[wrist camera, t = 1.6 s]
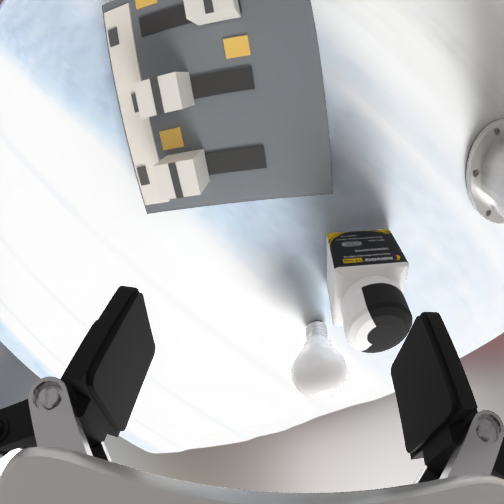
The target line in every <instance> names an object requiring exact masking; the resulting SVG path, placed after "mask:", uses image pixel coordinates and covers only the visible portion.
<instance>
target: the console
mask: <svg viewBox="0 0 504 504" xmlns="http://www.w3.org/2000/svg"><path fill="white" fill-rule="evenodd" d="M238 4H239V9H240V15H241V17H240V18H234V19H228V20H223V21H218V22H213V23H208V24H204V25H199V26H198V25H197V24H195V23H193V22H191V21H190V20H188V19H186V14H185V8H184V2H183V0H114V1H112V2H110V3H107V4H105V5H103V6H102V10H103V18H104V25H105V32H106V38H107V45H108V51H109V57H110V62H111V68H112V73H113V79H114V84H115V89H116V94H117V98H118V103H119V108H120V112H121V117H122V121H123V126H124V130H125V134H126V138H127V142H128V146H129V150H130V154H131V158H132V162H133V166H134V169H135V173H136V177H137V180H138V184H139V188H140V191H141V195H142V198H143V202H144V205H145V208H146V212H147V214H149V213H156V212H163V211H171V210H178V209H186V208H194V207H202V206H210V205H219V204H227V203H236V202H246V201H255V200H266V199H276V198H287V197H298V196H311V195H324V194H333V187H332V170H331V155H330V143H329V131H328V120H327V110H326V101H325V92H324V84H323V76H322V68H321V61H320V54H319V47H318V41H317V35H316V29H315V23H314V17H313V12H312V6H311V1H310V0H238ZM172 72H189V76H190V81H191V87H192V92H193V97H194V103H195V105H193V106H190V107H187V108H184V109H180V110H176V111H172V112H167V113H163V114H159V115H155V116H151V117H147V118H143V119H141V118H140V113H139V109H138V104H137V99H136V94H135V89H134V83H137V82H140V81H143V80H147V79H150V78H153V77H157V76H161V75H164V74H168V73H172ZM199 149H204V154H205V159H206V163H207V168H208V173H209V178H210V182H209V183H208V184H207V186H206V187H205V189H204V190H203V192H202V193H201V195H195V196H188V197H183V198H177V199H176V198H174V199H167V200H161V199H160V195H159V191H158V188H157V184H156V180H155V176H154V172H153V168H152V166H153V165H155V164H156V163H157V162H159V161H160V160H161V159H163V158H164V157H165V156H167V155H172V154H177V153H182V152H188V151H194V150H199Z"/></svg>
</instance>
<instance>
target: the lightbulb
mask: <svg viewBox="0 0 504 504" xmlns="http://www.w3.org/2000/svg"><path fill="white" fill-rule="evenodd" d="M306 337H307V341H306V343H305V345H304V349H303V351H302V352H301V353H300V354H299V355H298V356H297V358H296V359H295V361H294V363H293V366H292V380H293V383H294V385H295V387H296V389H297V390H298V391H299V392H300V393H301V394H303V395H304V396H306V397H308V398H311V399H325V398H328V397H331V396H333V395H334V394H336V393H337V392H338V391H339V390H340V389H341V388H342V386H343V385H344V383H345V381H346V377H347V365H346V362H345V360H344V358H343V356H342V355H341V354H340V353H339V352H338V351H337V350H336V349H335V348H333V347H332V345H331V342H330V341H329V339H328V335H327V327H326V325H325V324H324V323H323V322H320V321H314V322H311V323H310V324H308V325H307V327H306Z"/></svg>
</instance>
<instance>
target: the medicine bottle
mask: <svg viewBox="0 0 504 504" xmlns="http://www.w3.org/2000/svg"><path fill="white" fill-rule="evenodd" d="M326 247H327V288H328V294H329V301H330V308H331V314H332V321H333V325H334V326H344V330H345V336H346V340H347V342H348V343H349V344H350V345H351V346H352V347H353V348H355V349H357V350H359V351H362V352H367V353H376V352H382V351H385V350H388V349H390V348H392V347H394V346H396V345H397V344H399V343H400V342H401V341H402V340H403V339H404V338H405V337H406V335H407V334H408V332H409V330H410V328H411V326H412V315H411V312H410V310H409V307H408V305H407V302H406V300H405V298H404V291H405V286H406V280H407V274H408V268H409V264H408V262H407V260H406V258H405V256H404V254H403V253H402V251H401V249H400V247H399V245H398V244H397V242H396V240H395V239H394V237H393V235H392V233H391V232H390V230H389V229H374V230H359V231H345V232H330V233H327V235H326Z"/></svg>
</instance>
